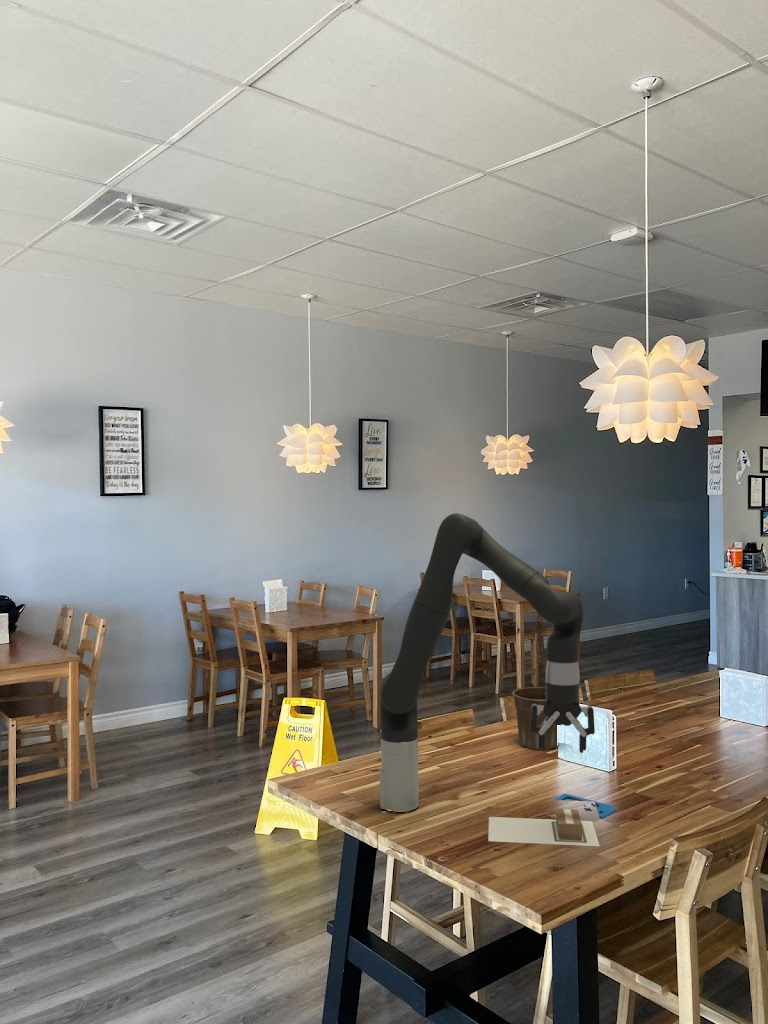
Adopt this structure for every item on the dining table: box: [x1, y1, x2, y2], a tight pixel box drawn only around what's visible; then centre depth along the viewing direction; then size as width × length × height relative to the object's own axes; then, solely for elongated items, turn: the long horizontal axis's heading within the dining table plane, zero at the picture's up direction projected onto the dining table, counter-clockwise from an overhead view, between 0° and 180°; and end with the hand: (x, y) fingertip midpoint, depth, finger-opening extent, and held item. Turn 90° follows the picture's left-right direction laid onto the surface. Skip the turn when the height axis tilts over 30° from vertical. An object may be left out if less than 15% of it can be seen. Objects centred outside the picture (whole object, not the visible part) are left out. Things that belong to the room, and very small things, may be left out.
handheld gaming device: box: [552, 793, 616, 820], centre depth 201 cm, size 8×1×15 cm
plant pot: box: [512, 686, 558, 751], centre depth 253 cm, size 16×16×16 cm
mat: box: [487, 816, 600, 847], centre depth 185 cm, size 24×14×1 cm, turn 82°
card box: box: [555, 808, 582, 841], centre depth 185 cm, size 9×5×4 cm, turn 172°
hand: (562, 751), depth 186 cm, fingers open, 8 cm apart
